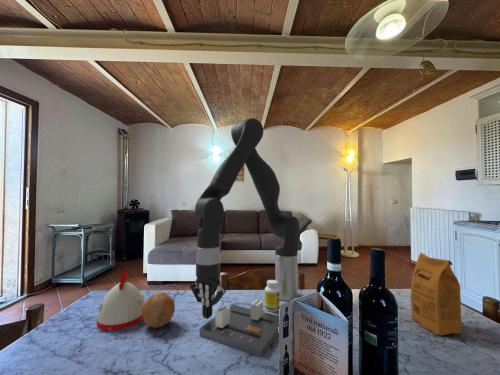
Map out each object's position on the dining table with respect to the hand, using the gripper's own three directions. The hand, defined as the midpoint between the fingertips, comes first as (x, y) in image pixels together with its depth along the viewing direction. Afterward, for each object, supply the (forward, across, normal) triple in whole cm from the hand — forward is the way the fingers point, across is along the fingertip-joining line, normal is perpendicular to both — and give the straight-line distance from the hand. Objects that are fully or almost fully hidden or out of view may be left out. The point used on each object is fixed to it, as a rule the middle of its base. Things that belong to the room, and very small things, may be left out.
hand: (207, 317), depth 72 cm
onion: (+3, +14, +6) cm, 16 cm away
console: (+3, -11, -4) cm, 12 cm away
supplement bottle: (+3, -13, -22) cm, 25 cm away
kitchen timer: (+3, +28, +10) cm, 30 cm away
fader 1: (+1, -6, 0) cm, 6 cm away
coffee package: (+3, -63, -36) cm, 72 cm away
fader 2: (+1, -13, -9) cm, 16 cm away
